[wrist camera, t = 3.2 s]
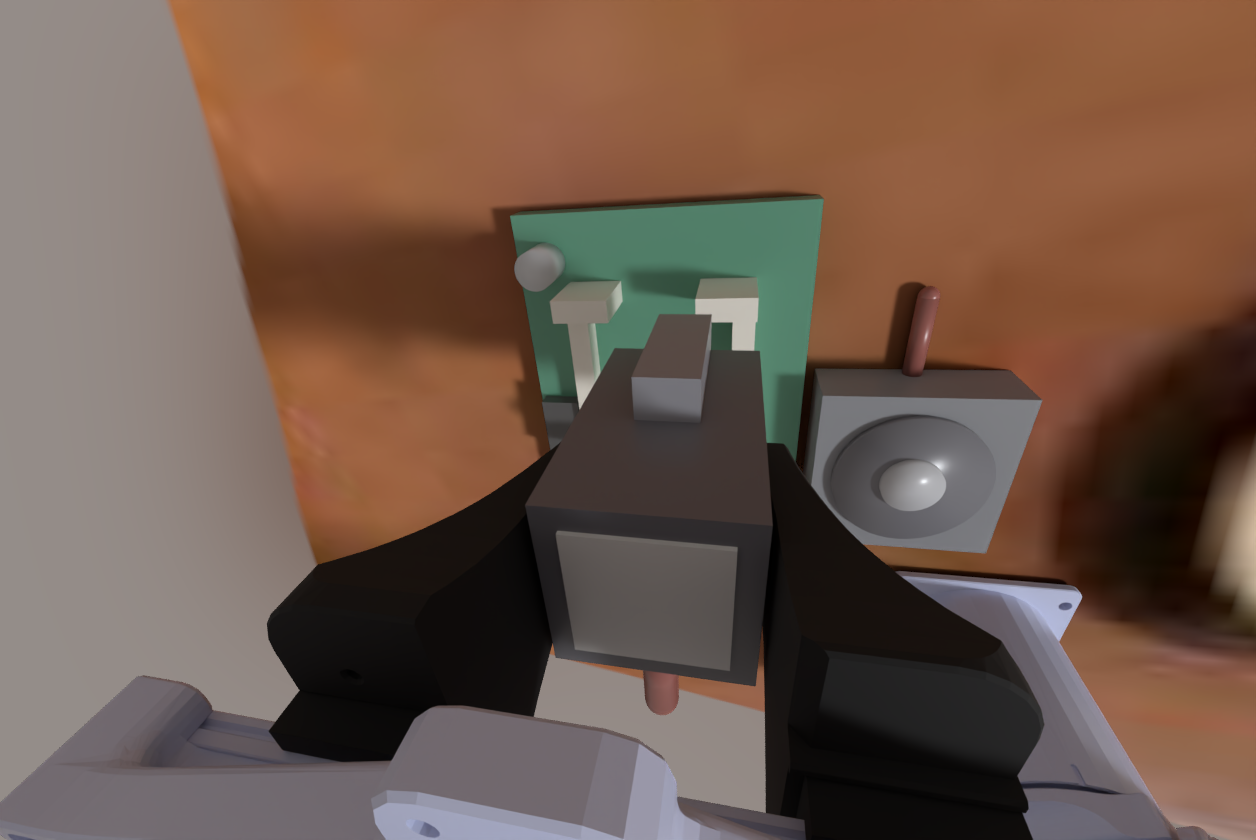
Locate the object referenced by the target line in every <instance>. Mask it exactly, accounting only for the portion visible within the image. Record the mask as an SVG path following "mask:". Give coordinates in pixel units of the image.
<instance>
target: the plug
mask: <svg viewBox="0 0 1256 840" xmlns="http://www.w3.org/2000/svg"><path fill="white" fill-rule="evenodd" d="M711 325H712V314H659V316H658V318H657V320H656V322H655V325H654V327H653V329H652V331H651V334H650V336H649V338H648V341H647V343H646V345H645V347H644V349H635V348H614V350H613V352H612V354H611V355H610V357H609V359H608V361H607V362H606V364H605V366H604V368H603V370H602V371H601V373H600V375H599V377H598V378H597V380H596V382H595V384H594V385H593V387H592V389H591V391H590V392H589V394H588V396H587V398H586V399H585V401H584V403H583V405H582V406H581V408H580V410H579V412H578V413H577V415H576V417H575V419H574V420H573V422H572V424H571V426H570V427H569V429H568V431H567V433H566V434H565V436H564V438H563V440H562V441H561V443H560V445H559V447H558V448H557V450H556V452H555V454H554V455H553V457H552V459H551V461H550V462H549V464H548V466H547V468H546V469H545V471H544V473H543V475H542V476H541V478H540V480H539V482H538V483H537V485H536V487H535V489H534V490H533V492H532V494H531V496H530V497H529V499H528V501H527V503H526V504H525V508H526V513H527V517H528V522H529V527H530V532H531V537H532V542H533V547H534V552H535V557H536V562H537V567H538V572H539V577H540V582H541V587H542V592H543V597H544V602H545V607H546V612H547V617H548V622H549V626H550V631H551V636H552V641H553V646H554V651H555V656H556V658H561V659H568V660H575V661H582V662H589V663H596V664H603V665H610V666H617V667H624V668H631V669H638V670H643V675H644V688H645V700H646V703H647V706H648V707H649V709H650V710H651V711H652V712H654V713H656V714H658V715H667V714H669V713H671V712H672V711H673V710H674V709H675V708H676V706H677V704H678V699H679V687H678V675H680V676H687V677H694V678H701V679H708V680H715V681H722V682H729V683H736V684H743V685H750V686H756V678H757V668H758V659H759V650H760V640H761V631H762V622H763V612H764V603H765V594H766V584H767V575H768V566H769V556H770V547H771V538H772V528H773V522H772V509H771V495H770V481H769V468H768V454H767V440H766V427H765V413H764V400H763V386H762V372H761V359H760V351H746V350H711Z"/></svg>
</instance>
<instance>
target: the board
mask: <svg viewBox="0 0 1256 840" xmlns="http://www.w3.org/2000/svg"><path fill="white" fill-rule="evenodd" d="M823 201H824V199H823V198H822V197H821V196H820V195H811V196H793V197H775V198H757V199H739V200H721V201H703V202H685V203H667V204H649V205H631V206H613V207H595V208H577V209H560V210H542V211H524V212H518V213H516V214H513V215H511V216H510V218H511V224H512V230H513V235H514V241H515V246H516V252H517V258H518V259H517V260H516V262H515V267H514V271H515V276H516V278H517V280H518V282H519V283H520V284H521V285H522V286H523V291H524V297H525V303H526V308H527V314H528V319H529V325H530V331H531V336H532V342H533V348H534V353H535V359H536V364H537V370H538V376H539V381H540V387H541V392H542V398H543V401H542V406H543V412H544V417H545V423H546V428H547V434H548V439H549V445H550V450H551V449H553V448H554V447H555V446H556V445H558V444H559V443H560V442H561V441H562V440H563V438H564V436H565V434H566V433H567V431H568V429H569V427H570V426H571V424H572V422H573V420H574V419H575V417H576V415H577V413H578V412H579V410H580V408H581V406H582V405H583V403H584V401H585V399H586V398H587V396H588V394H589V392H590V391H591V389H592V387H593V385H594V384H595V382H596V380H597V378H598V377H599V375H600V373H601V371H602V370H603V368H604V366H605V364H606V362H607V361H608V359H609V357H610V355H611V354H612V352H613V350H614V348H635V349H644V347H645V345H646V343H647V341H648V338H649V336H650V334H651V331H652V329H653V327H654V325H655V322H656V320H657V318H658V316H659V314H712V325H711V350H746V351H760V359H761V372H762V386H763V400H764V413H765V427H766V440H767V443H783V444H785V445H786V447H787V448H788V449H789V451H790V453H791V455H792V457H793V458H794V460H795V462H796V454H797V445H798V436H799V426H800V417H801V407H802V398H803V389H804V379H805V370H806V360H807V351H808V342H809V332H810V323H811V314H812V304H813V295H814V285H815V276H816V267H817V257H818V248H819V239H820V229H821V220H822V210H823Z"/></svg>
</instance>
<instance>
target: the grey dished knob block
mask: <svg viewBox="0 0 1256 840" xmlns="http://www.w3.org/2000/svg"><path fill="white" fill-rule="evenodd" d="M939 300H940V292H939V290H938V289H937V288H936V287H933V286H928V287H925V288H923V289H922V290H921V291H920V292H919V293H918V297H917V301H916V306H915V311H914V316H913V320H912V325H911V330H910V335H909V340H908V344H907V349H906V354H905V359H904V363H903V368H902V369H815V372H814V381H813V390H812V398H811V407H810V415H809V424H808V433H807V441H806V450H805V458H804V467H803V474H804V476H805V477H806V479H807V480H808V481H809V483H810V484H811V486H812V487H813V488H814V490H815V491H816V492H817V494H818V495H819V496H820V498H821V499H822V500H823V501H824V503H825V504H826V505H827V506H828V508H829V509H830V510H831V511H832V512H833V513H834V515H835V516H836V517H837V518H838V519H839V520H840V522H841V523H842V524H843V525H844V526H845V527H846V528H847V529H848V530H849V531H850V532H851V533H852V534H853V535H854V536H855V537H856V538H857V539H858V540H859V541H860V542H861V543H862V544H868V545H882V546H895V547H908V548H922V549H935V550H948V551H962V552H975V553H986V551H987V549H988V546H989V543H990V540H991V538H992V535H993V532H994V530H995V527H996V524H997V522H998V519H999V516H1000V513H1001V511H1002V508H1003V505H1004V503H1005V500H1006V497H1007V495H1008V492H1009V489H1010V486H1011V484H1012V481H1013V478H1014V476H1015V473H1016V470H1017V468H1018V465H1019V462H1020V459H1021V457H1022V454H1023V451H1024V449H1025V446H1026V443H1027V441H1028V438H1029V435H1030V432H1031V430H1032V427H1033V424H1034V422H1035V419H1036V416H1037V414H1038V411H1039V408H1040V405H1041V403H1042V399H1041V398H1040V397H1038V396H1037V395H1036V394H1035V393H1034V392H1033V391H1032V390H1031V389H1030V388H1029V387H1028V386H1027V385H1026V384H1025V383H1023V382H1022V381H1021V380H1020V379H1019V378H1018V377H1017V376H1016V375H1015V374H1014V373H1013V372H1012V371H1009V370H923V369H924V364H925V360H926V356H927V352H928V347H929V343H930V339H931V334H932V330H933V326H934V321H935V317H936V313H937V308H938V304H939Z"/></svg>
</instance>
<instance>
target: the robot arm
mask: <svg viewBox="0 0 1256 840" xmlns="http://www.w3.org/2000/svg"><path fill="white" fill-rule="evenodd" d="M560 443H561V442H560ZM560 443H559V444H558V445H556V446H555V447H554V448H553V449H551V450H550V451H549V452H548V453H546V454H545V455H544V456H542V457H541V458H540V459H538V460H537V461H536V462H535V463H533V464H532V465H531V466H529V467H528V468H527V469H525V470H524V471H523V472H521V473H520V474H518V475H517V476H516V477H514V478H513V479H511V480H510V481H508V482H507V483H505V484H504V485H502V486H501V487H500V488H498V489H497V490H495V491H494V492H492V493H491V494H489V495H487V496H486V497H484V498H482V499H481V500H479V501H477V502H476V503H474V504H472V505H470V506H468V507H467V508H465V509H463V510H461V511H459V512H457V513H456V514H454V515H451V516H449V517H447V518H445V519H443V520H441V521H439V522H437V523H434V524H432V525H430V526H428V527H426V528H424V529H422V530H419V531H417V532H415V533H412V534H410V535H407V536H405V537H402V538H400V539H397V540H394V541H392V542H389V543H386V544H384V545H381V546H378V547H375V548H372V549H369V550H366V551H363V552H360V553H356V554H353V555H350V556H346V557H343V558H340V559H336V560H333V561H330V562H326V563H322V564H318V565H317V566H316V567H315V568H314V569H313V571H312V572H311V573H310V574H309V575H308V576H307V577H306V578H305V579H304V580H303V581H302V582H301V583H300V584H299V585H298V586H297V587H296V588H295V589H294V590H293V591H292V592H291V593H290V595H289V596H288V597H287V598H286V599H285V600H284V601H283V602H282V603H281V604H280V605H279V606H278V607H277V609H275V610H274V611H273V613H272V614H271V615H270V618H269V620H268V622H267V629H268V638H269V641H270V643H271V645H272V647H273V649H274V651H275V652H276V654H277V656H278V657H279V659H280V660H281V662H282V664H283V665H284V667H285V668H286V670H287V672H288V673H289V675H290V676H291V678H292V679H293V681H294V682H295V684H296V686H297V687H298V689H299V690H300V691H299V692H298V693H297V695H296V696H295V697H294V699H293V700H292V701H291V703H290V704H289V705H288V706H287V708H286V709H285V710H284V711H283V713H282V714H281V715H280V717H279V718H278V720H277V721H276V722H273V721H268V720H263V719H258V718H252V717H247V716H241V715H236V714H231V713H225V712H220V711H214V710H212V706H211V704H210V703H209V701H208V700H207V698H206V697H205V696H204V695H203V694H202V693H201V692H200V691H199V690H198V689H196V688H195V687H193V686H191V685H189V684H186V683H183V682H178V681H172V680H167V679H161V678H156V677H150V676H138V677H136V678H135V679H134V680H133V681H132V682H131V683H130V684H128V686H127V687H125V688H124V689H123V690H122V691H121V692H120V693H119V694H118V695H117V696H115V697H114V698H113V699H112V700H111V701H110V702H109V703H108V704H107V705H106V706H105V707H103V708H102V709H101V710H100V711H99V712H98V713H97V714H96V715H95V716H94V717H93V718H91V719H90V720H89V721H88V722H87V723H86V724H85V725H84V726H83V727H82V728H81V729H80V730H78V731H77V732H76V733H75V734H74V735H73V736H72V737H71V738H70V739H69V740H68V741H66V742H65V743H64V744H63V745H62V746H61V747H60V748H59V749H58V750H57V751H56V752H54V753H53V755H51V756H50V757H49V758H48V759H47V760H46V761H45V762H44V763H43V764H41V765H40V766H39V767H38V768H37V769H36V770H35V771H34V772H33V773H32V774H31V775H30V776H28V777H27V778H26V779H25V780H24V781H23V782H22V783H21V784H20V785H19V786H18V787H17V788H15V789H14V790H13V791H12V792H11V793H10V794H9V795H8V796H7V797H6V798H4V799H3V800H2V801H1V802H0V835H1V836H2V837H4V838H6V839H7V840H1218V839H1216V838H1214V837H1210V836H1209V835H1208V834H1207V833H1206V832H1205V831H1204V830H1203V829H1201V828H1199V827H1195V826H1189V827H1181V828H1176V829H1177V830H1176V829H1175V828H1174V827H1173V826H1172V825H1171V823H1170V822H1169V821H1168V820H1167V818H1166V817H1165V816H1164V815H1163V813H1162V811H1161V810H1160V808H1159V806H1158V805H1157V803H1156V802H1155V800H1154V798H1153V797H1152V795H1151V793H1150V792H1149V790H1148V788H1147V787H1146V785H1145V783H1144V782H1143V780H1142V778H1141V777H1140V775H1139V773H1138V772H1137V770H1136V768H1135V767H1134V765H1133V764H1132V762H1131V760H1130V759H1129V757H1128V755H1127V754H1126V752H1125V750H1124V749H1123V747H1122V745H1121V744H1120V742H1119V740H1118V739H1117V737H1116V735H1115V734H1114V732H1113V731H1112V729H1111V727H1110V726H1109V724H1108V722H1107V721H1106V719H1105V717H1104V716H1103V714H1102V712H1101V711H1100V709H1099V707H1098V706H1097V704H1096V702H1095V701H1094V699H1093V697H1092V696H1091V694H1090V693H1089V691H1088V689H1087V688H1086V686H1085V684H1084V683H1083V681H1082V679H1081V678H1080V676H1079V674H1078V673H1077V671H1076V669H1075V668H1074V666H1073V664H1072V663H1071V661H1070V659H1069V658H1068V656H1067V655H1066V653H1065V651H1064V650H1063V648H1062V646H1061V645H1060V643H1059V641H1060V639H1061V637H1062V635H1063V633H1064V631H1065V629H1066V627H1067V625H1068V624H1069V622H1070V620H1071V618H1072V616H1073V614H1074V612H1075V610H1076V608H1077V607H1078V605H1079V603H1080V601H1081V599H1082V595H1081V593H1080V592H1079V591H1078V589H1077V588H1076V587H1074V586H1070V585H1061V584H1049V583H1037V582H1025V581H1013V580H1001V579H989V578H977V577H965V576H954V575H942V574H930V573H918V572H906V571H896V572H895V571H894V570H892V569H891V568H890V567H889V566H887V565H886V564H885V563H884V562H882V561H881V560H880V559H879V558H878V557H876V556H875V555H874V554H873V553H872V552H871V551H870V550H868V549H867V548H866V547H865V546H864V545H863V544H862V543H861V542H860V541H859V540H858V539H857V538H856V537H855V536H854V535H853V534H852V533H851V532H850V531H849V530H848V529H847V528H846V527H845V526H844V525H843V524H842V523H841V522H840V520H839V519H838V518H837V517H836V516H835V515H834V513H833V512H832V511H831V510H830V509H829V508H828V506H827V505H826V504H825V503H824V501H823V500H822V499H821V498H820V496H819V495H818V494H817V492H816V491H815V490H814V488H813V487H812V486H811V484H810V483H809V481H808V480H807V479H806V477H805V476H804V474H803V473H802V471H801V470H800V468H799V466H798V465H797V463H796V462H795V460H794V458H793V457H792V455H791V453H790V451H789V449H788V448H787V447H786V445H785V444H783V443H767V454H768V468H769V481H770V495H771V509H772V522H773V528H772V538H771V547H770V556H769V566H768V575H767V584H766V594H765V603H764V612H763V622H762V628H763V641H764V685H765V759H766V760H765V761H766V762H765V763H766V813H763V812H758V811H752V810H747V809H742V808H736V807H730V806H726V805H720V804H715V803H709V802H704V801H699V800H693V799H688V798H682V797H677V782H676V780H675V778H674V776H673V774H672V772H671V770H670V768H669V766H668V764H667V762H666V761H665V760H664V758H663V757H662V756H661V755H660V754H658V753H657V752H656V751H654V750H653V749H651V748H650V747H648V746H647V745H645V744H644V743H643V742H641V741H640V740H638V739H636V738H633V737H630V736H627V735H623V734H620V733H617V732H614V731H610V730H607V729H603V728H597V727H590V726H585V725H578V724H573V723H566V722H560V721H554V720H548V719H542V718H536V717H534V712H535V708H536V704H537V700H538V696H539V692H540V688H541V684H542V680H543V677H544V673H545V669H546V665H547V661H548V658H549V654H550V650H551V647H552V643H553V641H552V636H551V631H550V626H549V622H548V617H547V612H546V607H545V602H544V597H543V592H542V587H541V582H540V577H539V572H538V567H537V562H536V557H535V552H534V547H533V542H532V537H531V532H530V527H529V522H528V517H527V513H526V508H525V504H526V503H527V501H528V499H529V497H530V496H531V494H532V492H533V490H534V489H535V487H536V485H537V483H538V482H539V480H540V478H541V476H542V475H543V473H544V471H545V469H546V468H547V466H548V464H549V462H550V461H551V459H552V457H553V455H554V454H555V452H556V450H557V448H558V447H559V445H560Z"/></svg>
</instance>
